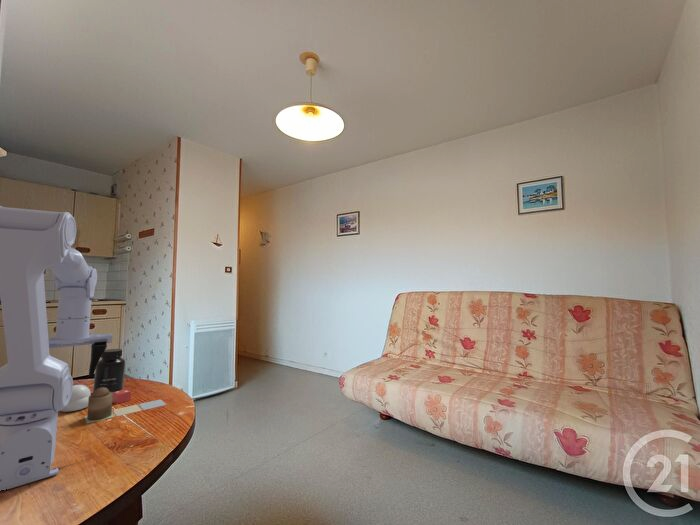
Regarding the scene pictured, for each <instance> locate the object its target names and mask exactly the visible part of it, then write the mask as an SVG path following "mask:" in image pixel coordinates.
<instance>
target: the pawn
mask: <svg viewBox="0 0 700 525" xmlns="http://www.w3.org/2000/svg"><path fill="white" fill-rule="evenodd" d="M112 400H113V392H109V390H108V389H107V388H105V387H101V388H98V389H97V390H95V391H94V393H93V392H92V394H91V395H90V396H89V401H88V407H87V415H86V416H87V419H88V420H100V419H104V418H107V417H109V416H111V414H112V412H113V402H112ZM104 420H105V419H104ZM100 421H101V420H100Z"/></svg>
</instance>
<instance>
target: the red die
mask: <svg viewBox="0 0 700 525" xmlns="http://www.w3.org/2000/svg"><path fill="white" fill-rule="evenodd" d="M131 396H132V391H131V390H128V389H124V388H123V389H122V390H120V391H116V392H113V400H112V404H116V405H121V404H123V403H126V402H130V401H131Z"/></svg>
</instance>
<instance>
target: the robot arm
mask: <svg viewBox="0 0 700 525" xmlns="http://www.w3.org/2000/svg"><path fill="white" fill-rule="evenodd" d="M76 237H77V223H76V219H75V217H74V216H73V215H72V214H71V213H70V212H68V211H62V212H59V211H51V210H50V211H49V210H38V209H27V208H17V207H9V206H8V207H5V206H2V205H0V305H1V312H2V322H3V323H2V324H3V331H4V339H5V340H4V341H5V347H6V348H5V349H6V356H7V363H5V364H4V365H2V366H1V367H0V491H1V490H4V491H6V489H7V490H10V489H13V488H16V487H20V486H23V485H26V484H30V483H33V482H37V481H39V480H42V479H46V478H49V477H53V476H56V475H57V474H59V472H60V471H59V466H58V467H54V468H52V463H53V462H54V461H55V453H56V452H55V451H56V439H57V438H56V437H57V428H58V417H59V416H58V415H59V411H60V410H62V409H63V408H64V407H65V406H67V404H68V403H69V401H70V398H71V394H72V389H73V386H74V380H73V376H72V375H71V372H70V371H71V370H70V367H69V364H68V363H67V362H65V361H63V360H60V359H59V358H56V357H54V356H52V355H51V354H50V349H55V348H65V347H66V348H67V347H75V346H76V347H77V346H86V345H91V347H90V348H91V350H90V363H89V371H88V375H89V376H88V377H89V378H90V377H95V369H96V366H97V364H98V361H100V360H101V356H102V354H103V352H104V351H105V350H107V346H108V345H107V344H112V343H113V336H114V335H113V334H112V333H105V334H103V333H101V334H90V327H91V326H90V324H91V313H92V301H93V300H92V298H94V297H95V296H94V295H95V290H96V286H97V283H98V271H97V269H96V268H93V266H90V265H88V263H87V262H86V260H85V257H84V256H83V255H82V253H81V252H80V251H79V250H77V249H76V248H74V247H73V248H72V246H73V245H74V244H75V241H76ZM48 268H49V269H50V271H51V272H52V273H53V280H54V285H55V288H56V290H58V300H57V301H58V302H57V312H56V326H55V337H49V332H48V331H49V329H48V315H47V314H48V313H47V303H46V300H47V299H46V288H45V287H46V286H45V270H47V269H48ZM60 412H61V411H60ZM1 492H2V491H1Z"/></svg>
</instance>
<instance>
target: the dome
mask: <svg viewBox="0 0 700 525" xmlns="http://www.w3.org/2000/svg"><path fill="white" fill-rule="evenodd" d="M91 393H92V392H91V390H90V388H89V387H88V386H86V385H84V384H73V389H72V394H71V398H70V401H69V403H68V404H67V406H65V407H64V408H63V409H62V410H60V412H64V413H65V412H66V413H67V412H73V411H74V412H75V411H79V410H83V409H85V408H88V401H89V396H90V395H92V394H91Z"/></svg>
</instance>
